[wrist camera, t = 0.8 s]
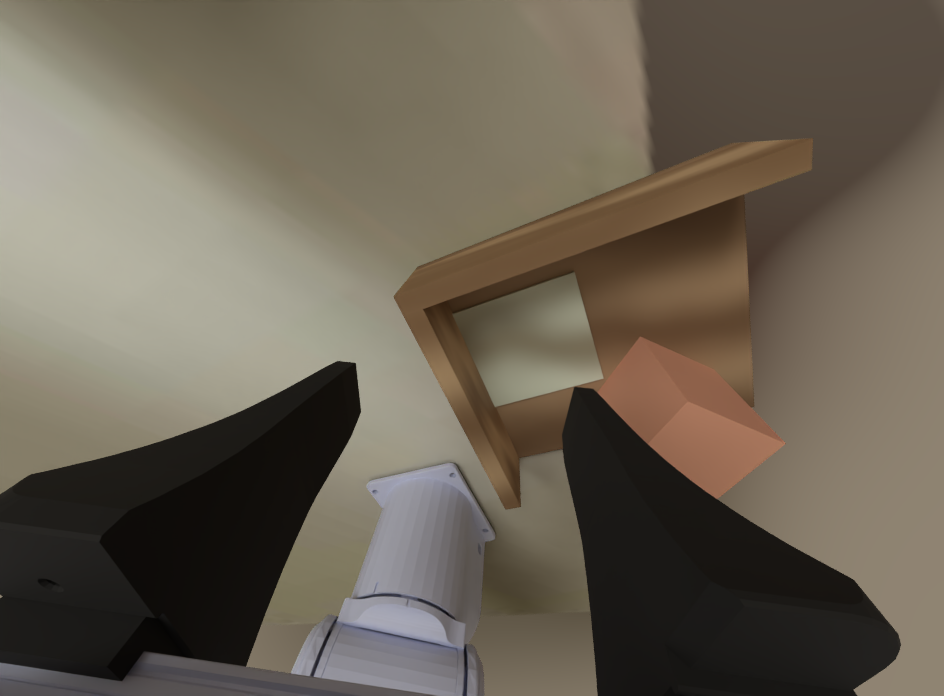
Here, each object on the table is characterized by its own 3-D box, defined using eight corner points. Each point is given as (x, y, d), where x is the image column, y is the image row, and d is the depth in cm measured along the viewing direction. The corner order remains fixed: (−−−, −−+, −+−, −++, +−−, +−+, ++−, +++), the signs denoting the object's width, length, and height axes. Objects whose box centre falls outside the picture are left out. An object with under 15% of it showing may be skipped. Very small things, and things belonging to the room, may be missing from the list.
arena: (746, 398, 22) (802, 455, 18) (505, 452, 26) (505, 509, 22) (731, 143, 16) (812, 138, 11) (417, 266, 20) (393, 296, 16)
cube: (714, 369, 20) (785, 443, 15) (658, 427, 23) (704, 509, 17) (640, 336, 20) (687, 401, 14) (591, 399, 22) (617, 475, 17)
